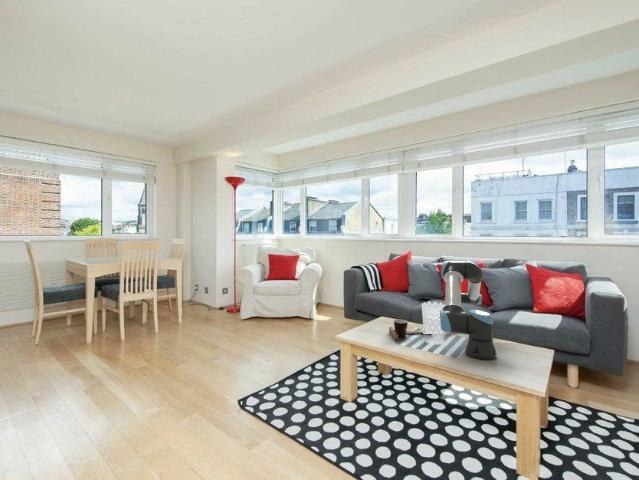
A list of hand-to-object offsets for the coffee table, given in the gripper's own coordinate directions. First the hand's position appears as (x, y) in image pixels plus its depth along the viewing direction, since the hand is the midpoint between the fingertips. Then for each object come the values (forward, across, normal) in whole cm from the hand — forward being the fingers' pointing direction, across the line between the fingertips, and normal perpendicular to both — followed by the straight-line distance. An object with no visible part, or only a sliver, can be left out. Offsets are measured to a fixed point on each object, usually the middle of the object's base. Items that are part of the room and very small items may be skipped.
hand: (434, 318), depth 218 cm
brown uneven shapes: (+22, +4, -8) cm, 24 cm away
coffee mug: (+29, +10, -8) cm, 32 cm away
